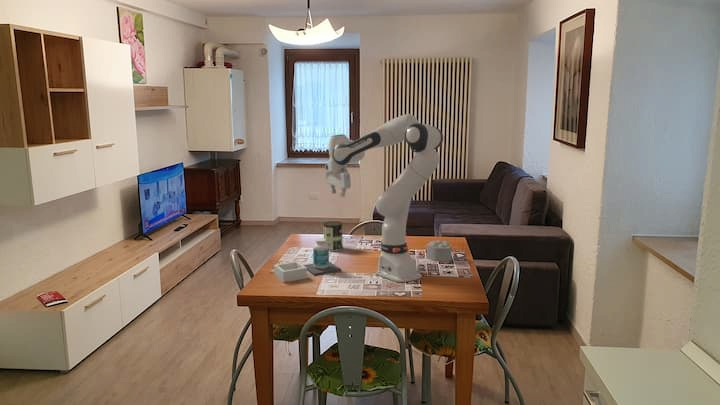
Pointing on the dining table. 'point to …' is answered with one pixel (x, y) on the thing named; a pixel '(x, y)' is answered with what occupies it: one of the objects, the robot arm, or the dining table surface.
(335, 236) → the coffee can
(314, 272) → the mat
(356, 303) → the dining table surface
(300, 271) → the holder
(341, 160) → the robot arm
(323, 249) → the pill bottle
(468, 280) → the dining table surface
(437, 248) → the grey bumpy block
